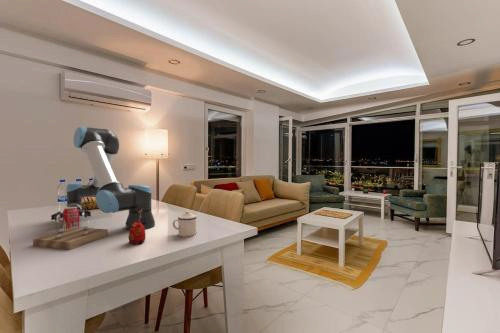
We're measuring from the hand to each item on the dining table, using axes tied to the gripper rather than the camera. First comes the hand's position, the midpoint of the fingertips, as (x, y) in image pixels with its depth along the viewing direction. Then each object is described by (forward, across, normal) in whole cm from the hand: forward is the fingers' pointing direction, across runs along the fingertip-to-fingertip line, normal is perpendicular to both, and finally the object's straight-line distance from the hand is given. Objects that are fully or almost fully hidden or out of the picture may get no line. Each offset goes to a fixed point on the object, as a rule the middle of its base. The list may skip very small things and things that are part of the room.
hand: (70, 218), depth 131 cm
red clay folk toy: (+35, -27, -7) cm, 45 cm away
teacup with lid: (+34, -49, -7) cm, 60 cm away
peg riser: (+17, -2, -7) cm, 18 cm away
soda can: (-4, 0, -7) cm, 8 cm away
